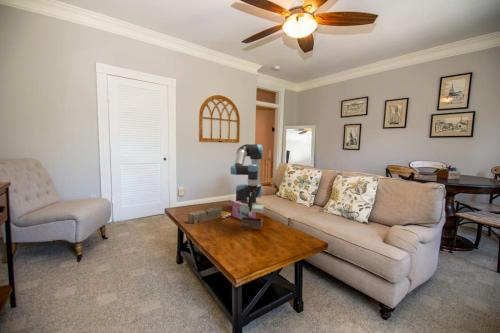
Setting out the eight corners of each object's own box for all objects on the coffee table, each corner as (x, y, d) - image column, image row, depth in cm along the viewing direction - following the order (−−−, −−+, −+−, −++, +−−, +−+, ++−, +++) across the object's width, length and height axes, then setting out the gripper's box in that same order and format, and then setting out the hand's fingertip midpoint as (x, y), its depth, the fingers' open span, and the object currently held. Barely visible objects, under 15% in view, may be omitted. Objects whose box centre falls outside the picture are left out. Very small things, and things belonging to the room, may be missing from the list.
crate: (242, 224, 180) (243, 216, 179) (262, 226, 176) (262, 218, 176) (240, 227, 173) (240, 219, 172) (261, 229, 169) (261, 221, 169)
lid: (243, 208, 181) (243, 203, 180) (264, 210, 177) (264, 205, 176) (239, 212, 171) (239, 207, 171) (261, 214, 167) (261, 208, 167)
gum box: (230, 215, 201) (231, 201, 199) (237, 214, 206) (238, 199, 205) (249, 223, 183) (249, 206, 182) (256, 221, 188) (256, 205, 187)
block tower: (192, 225, 178) (222, 217, 198) (192, 215, 177) (222, 207, 197) (187, 222, 184) (217, 214, 203) (187, 212, 183) (217, 205, 202)
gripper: (251, 181, 183) (250, 208, 186) (244, 187, 162) (243, 217, 164) (260, 182, 182) (259, 209, 184) (254, 187, 160) (253, 218, 162)
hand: (252, 213), depth 174 cm, fingers closed on lid, 10 cm apart
